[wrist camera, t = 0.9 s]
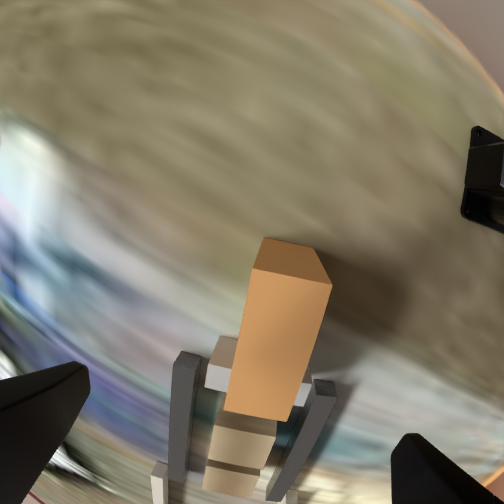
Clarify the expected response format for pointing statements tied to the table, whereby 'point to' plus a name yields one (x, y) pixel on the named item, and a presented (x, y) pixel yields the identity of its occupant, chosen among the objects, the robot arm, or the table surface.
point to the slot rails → (298, 444)
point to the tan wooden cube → (230, 478)
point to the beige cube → (241, 438)
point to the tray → (161, 487)
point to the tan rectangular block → (273, 334)
